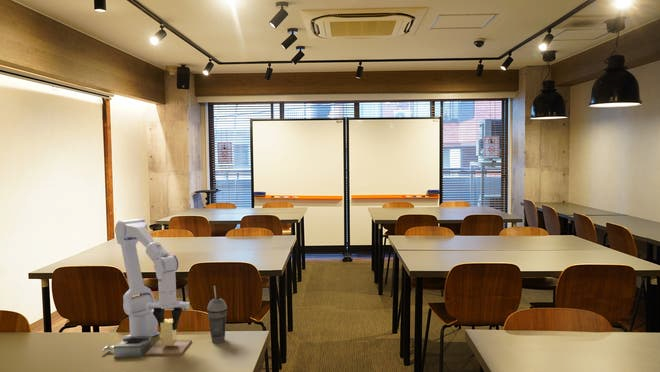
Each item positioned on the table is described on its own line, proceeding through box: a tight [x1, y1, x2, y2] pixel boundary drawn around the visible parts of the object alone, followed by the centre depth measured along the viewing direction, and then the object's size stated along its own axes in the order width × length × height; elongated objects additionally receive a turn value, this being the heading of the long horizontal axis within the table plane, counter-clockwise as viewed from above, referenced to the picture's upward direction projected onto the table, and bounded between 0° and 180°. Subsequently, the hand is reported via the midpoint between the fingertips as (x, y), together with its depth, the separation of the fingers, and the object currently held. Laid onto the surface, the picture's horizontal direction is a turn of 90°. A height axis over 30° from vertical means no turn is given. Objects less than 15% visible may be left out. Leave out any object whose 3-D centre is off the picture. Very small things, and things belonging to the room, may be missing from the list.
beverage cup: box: [206, 285, 228, 344], centre depth 171 cm, size 7×7×20 cm
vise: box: [101, 335, 152, 358], centre depth 162 cm, size 9×14×4 cm, turn 90°
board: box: [144, 339, 193, 357], centre depth 165 cm, size 12×12×1 cm
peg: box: [160, 318, 178, 346], centre depth 164 cm, size 4×4×8 cm
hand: (168, 329), depth 164 cm, fingers closed on peg, 4 cm apart
